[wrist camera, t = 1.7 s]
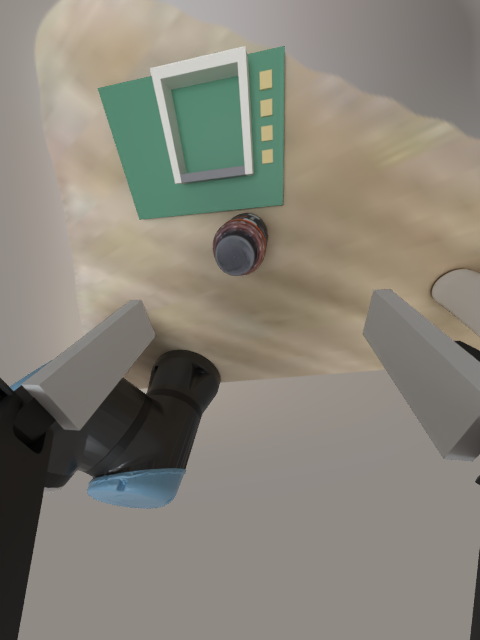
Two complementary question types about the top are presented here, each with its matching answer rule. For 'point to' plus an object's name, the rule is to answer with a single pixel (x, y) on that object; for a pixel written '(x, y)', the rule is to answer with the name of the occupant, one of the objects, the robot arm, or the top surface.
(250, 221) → the supplement bottle
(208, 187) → the board
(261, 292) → the top surface
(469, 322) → the drinking glass
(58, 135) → the top surface
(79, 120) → the top surface
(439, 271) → the top surface
